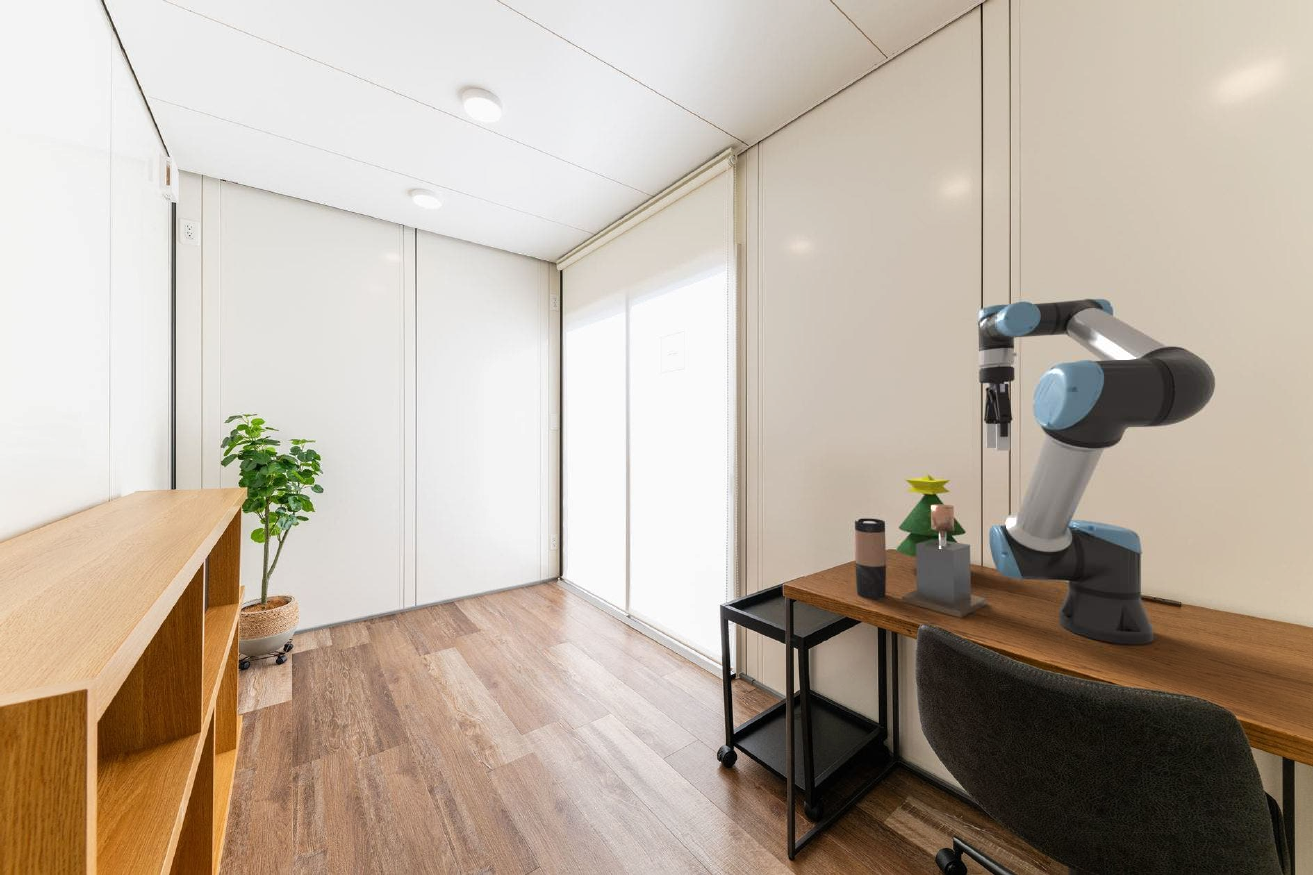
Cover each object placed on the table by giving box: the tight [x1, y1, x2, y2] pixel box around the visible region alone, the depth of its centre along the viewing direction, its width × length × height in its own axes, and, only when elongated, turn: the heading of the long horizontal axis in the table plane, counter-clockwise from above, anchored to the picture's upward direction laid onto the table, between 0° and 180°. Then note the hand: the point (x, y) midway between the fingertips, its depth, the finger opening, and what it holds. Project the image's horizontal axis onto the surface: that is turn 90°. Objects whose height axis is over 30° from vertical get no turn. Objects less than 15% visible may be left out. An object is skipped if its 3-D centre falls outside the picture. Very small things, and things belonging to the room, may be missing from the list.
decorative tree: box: [896, 474, 967, 558], centre depth 152 cm, size 19×19×30 cm
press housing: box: [901, 539, 987, 619], centre depth 125 cm, size 14×14×15 cm
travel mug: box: [854, 517, 887, 600], centre depth 133 cm, size 8×8×20 cm
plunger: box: [931, 503, 955, 546], centre depth 125 cm, size 5×5×21 cm
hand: (997, 449), depth 128 cm, fingers open, 13 cm apart
